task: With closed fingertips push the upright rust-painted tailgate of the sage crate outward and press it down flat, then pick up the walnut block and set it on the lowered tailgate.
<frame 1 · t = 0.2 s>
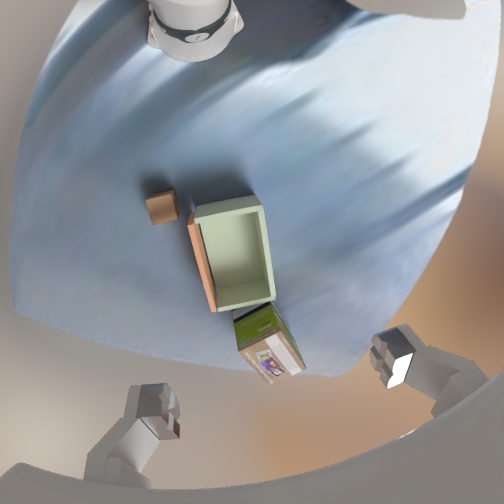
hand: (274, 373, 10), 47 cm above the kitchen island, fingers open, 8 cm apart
tea box: (262, 320, 69), on the kitchen island
tailgate: (202, 263, 53), point 5 cm above the kitchen island, hinge at 0.0°
crate: (234, 245, 59), on the kitchen island
walnut block: (165, 203, 53), on the kitchen island
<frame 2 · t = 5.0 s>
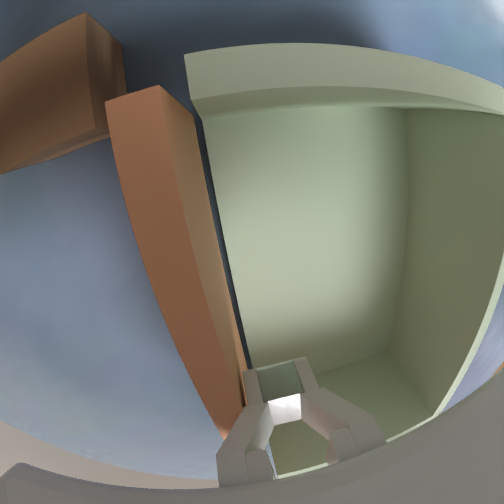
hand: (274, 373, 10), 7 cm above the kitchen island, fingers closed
tailgate: (221, 352, 11), point 5 cm above the kitchen island, hinge at 1.0°, touching gripper
crate: (331, 262, 16), on the kitchen island
walnut block: (84, 101, 11), on the kitchen island
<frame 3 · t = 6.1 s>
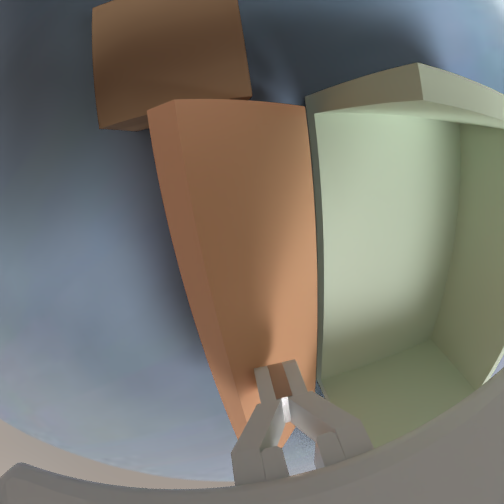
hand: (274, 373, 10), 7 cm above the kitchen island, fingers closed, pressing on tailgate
tailgate: (273, 332, 12), point 4 cm above the kitchen island, hinge at 40.7°, touching gripper
crate: (397, 254, 17), on the kitchen island
walnut block: (179, 73, 11), on the kitchen island
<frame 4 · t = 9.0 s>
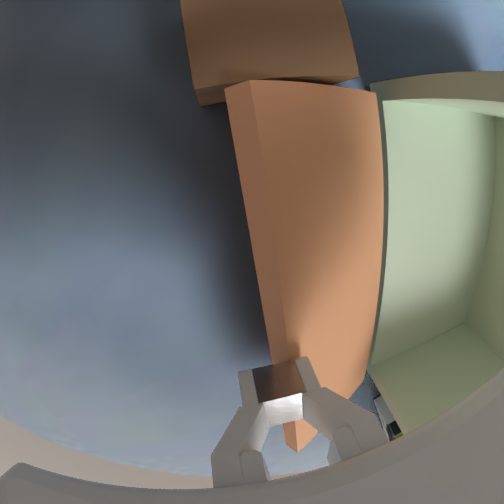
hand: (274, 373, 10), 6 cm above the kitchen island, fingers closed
tea box: (412, 397, 26), on the kitchen island
tailgate: (333, 309, 12), point 3 cm above the kitchen island, hinge at 56.1°, touching gripper
crate: (443, 239, 16), on the kitchen island
walnut block: (246, 49, 10), on the kitchen island
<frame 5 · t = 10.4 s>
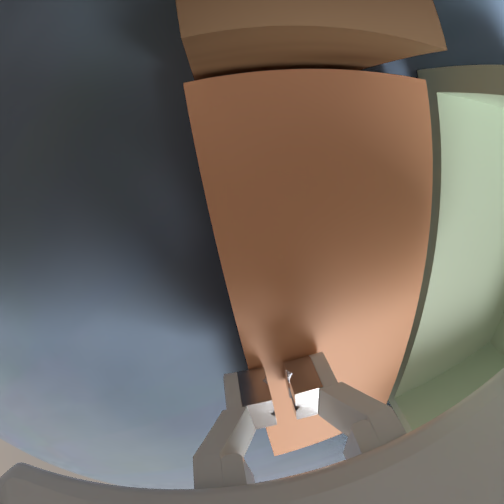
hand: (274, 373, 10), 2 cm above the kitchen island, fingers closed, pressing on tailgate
tailgate: (336, 332, 10), point 1 cm above the kitchen island, hinge at 85.8°, touching gripper
crate: (481, 258, 12), on the kitchen island
walnut block: (262, 14, 6), on the kitchen island
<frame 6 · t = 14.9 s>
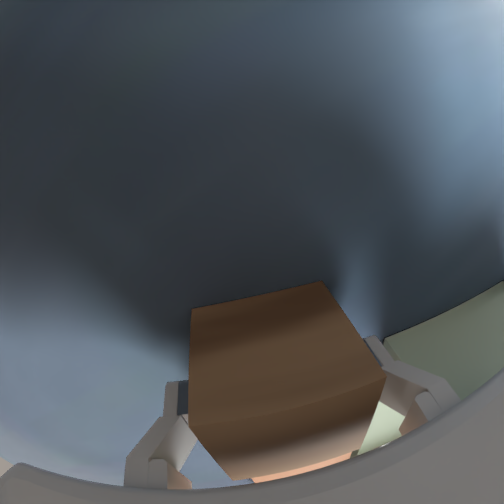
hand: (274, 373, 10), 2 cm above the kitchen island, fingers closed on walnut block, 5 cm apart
tailgate: (302, 460, 15), point 1 cm above the kitchen island, hinge at 86.1°
crate: (422, 397, 17), on the kitchen island
walnut block: (266, 343, 11), on the kitchen island, touching gripper
when the fingers open (5 cm above the kitchen island, at t = 20.1 s): walnut block stays where it is, resting on tailgate.
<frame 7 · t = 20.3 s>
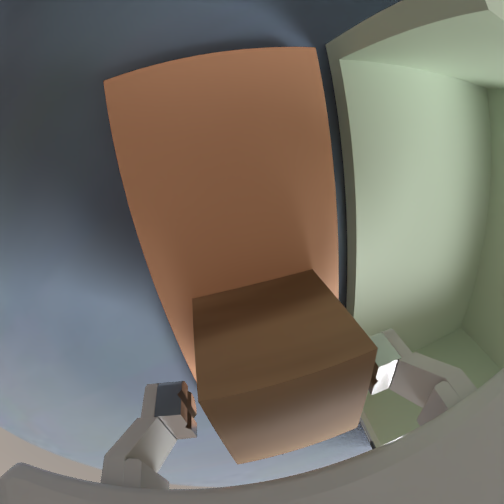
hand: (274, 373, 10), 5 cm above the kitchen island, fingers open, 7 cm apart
tailgate: (252, 287, 12), point 1 cm above the kitchen island, hinge at 86.7°, touching walnut block
crate: (432, 230, 14), on the kitchen island
walnut block: (262, 330, 12), point 2 cm above the kitchen island, touching tailgate
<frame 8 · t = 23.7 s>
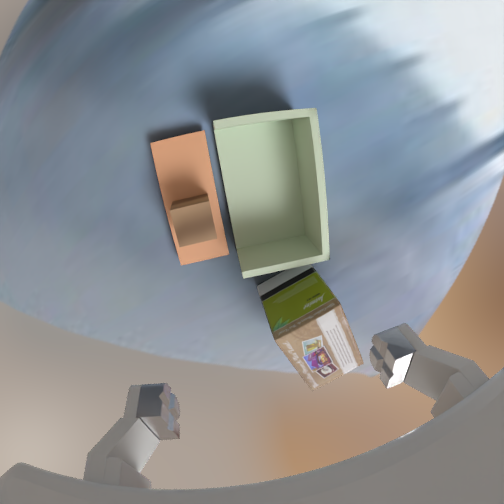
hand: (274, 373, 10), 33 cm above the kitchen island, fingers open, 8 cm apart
tea box: (297, 300, 50), on the kitchen island
tailgate: (190, 199, 38), point 1 cm above the kitchen island, hinge at 86.8°, touching walnut block
crate: (265, 183, 40), on the kitchen island
walnut block: (193, 214, 38), point 2 cm above the kitchen island, touching tailgate
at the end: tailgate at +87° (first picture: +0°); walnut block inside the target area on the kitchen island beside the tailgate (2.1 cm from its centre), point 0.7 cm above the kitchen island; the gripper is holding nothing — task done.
